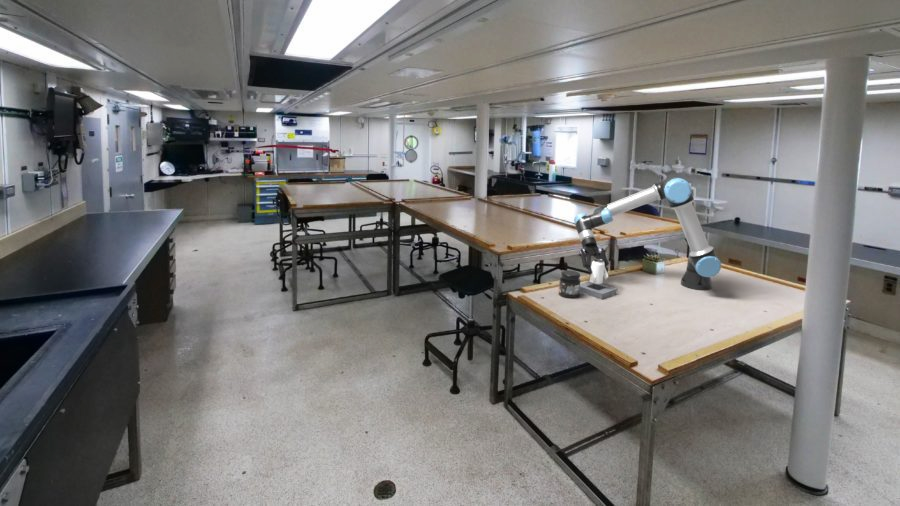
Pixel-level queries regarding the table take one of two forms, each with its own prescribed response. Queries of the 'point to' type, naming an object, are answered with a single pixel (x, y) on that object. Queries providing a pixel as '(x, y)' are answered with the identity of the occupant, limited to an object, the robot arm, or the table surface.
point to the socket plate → (597, 290)
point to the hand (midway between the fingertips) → (600, 278)
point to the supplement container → (569, 284)
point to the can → (598, 271)
